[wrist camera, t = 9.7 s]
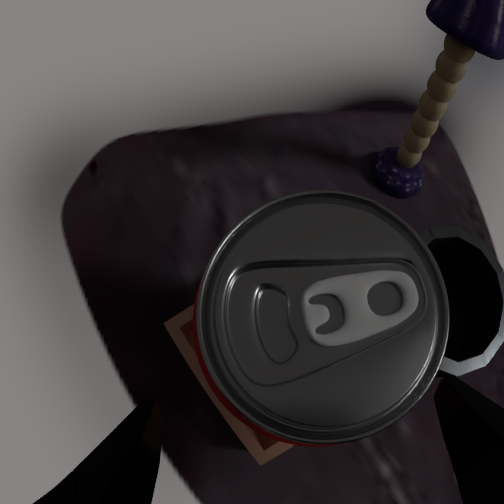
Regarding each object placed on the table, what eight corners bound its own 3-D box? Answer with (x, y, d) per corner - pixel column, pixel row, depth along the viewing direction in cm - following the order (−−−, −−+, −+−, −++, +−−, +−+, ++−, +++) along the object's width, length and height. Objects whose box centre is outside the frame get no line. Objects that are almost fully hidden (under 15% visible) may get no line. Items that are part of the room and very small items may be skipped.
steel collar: (494, 317, 17) (525, 305, 13) (422, 402, 15) (453, 406, 12) (430, 227, 19) (454, 202, 16) (347, 298, 18) (365, 281, 14)
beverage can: (229, 314, 17) (169, 202, 6) (320, 297, 17) (409, 167, 6) (246, 406, 15) (209, 482, 4) (339, 385, 15) (480, 399, 4)
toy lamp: (360, 148, 22) (422, -56, 6) (409, 146, 22) (486, -28, 7) (382, 201, 20) (490, -19, 5) (433, 195, 20) (548, 17, 5)
